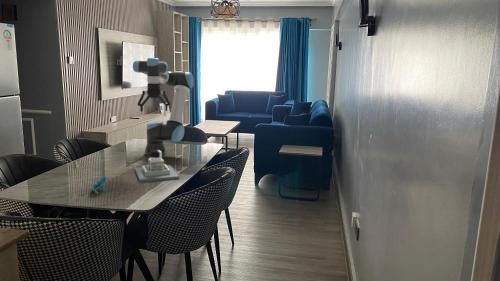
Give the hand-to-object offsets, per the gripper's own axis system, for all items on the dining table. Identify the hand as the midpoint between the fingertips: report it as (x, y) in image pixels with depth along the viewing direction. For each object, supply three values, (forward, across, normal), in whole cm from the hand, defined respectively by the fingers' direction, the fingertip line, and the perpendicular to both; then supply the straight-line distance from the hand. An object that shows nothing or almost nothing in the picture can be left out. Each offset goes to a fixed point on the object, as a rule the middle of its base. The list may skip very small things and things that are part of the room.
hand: (154, 116), depth 244 cm
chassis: (+32, -3, -23) cm, 39 cm away
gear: (+32, -36, -45) cm, 66 cm away
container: (+30, -3, -23) cm, 38 cm away
